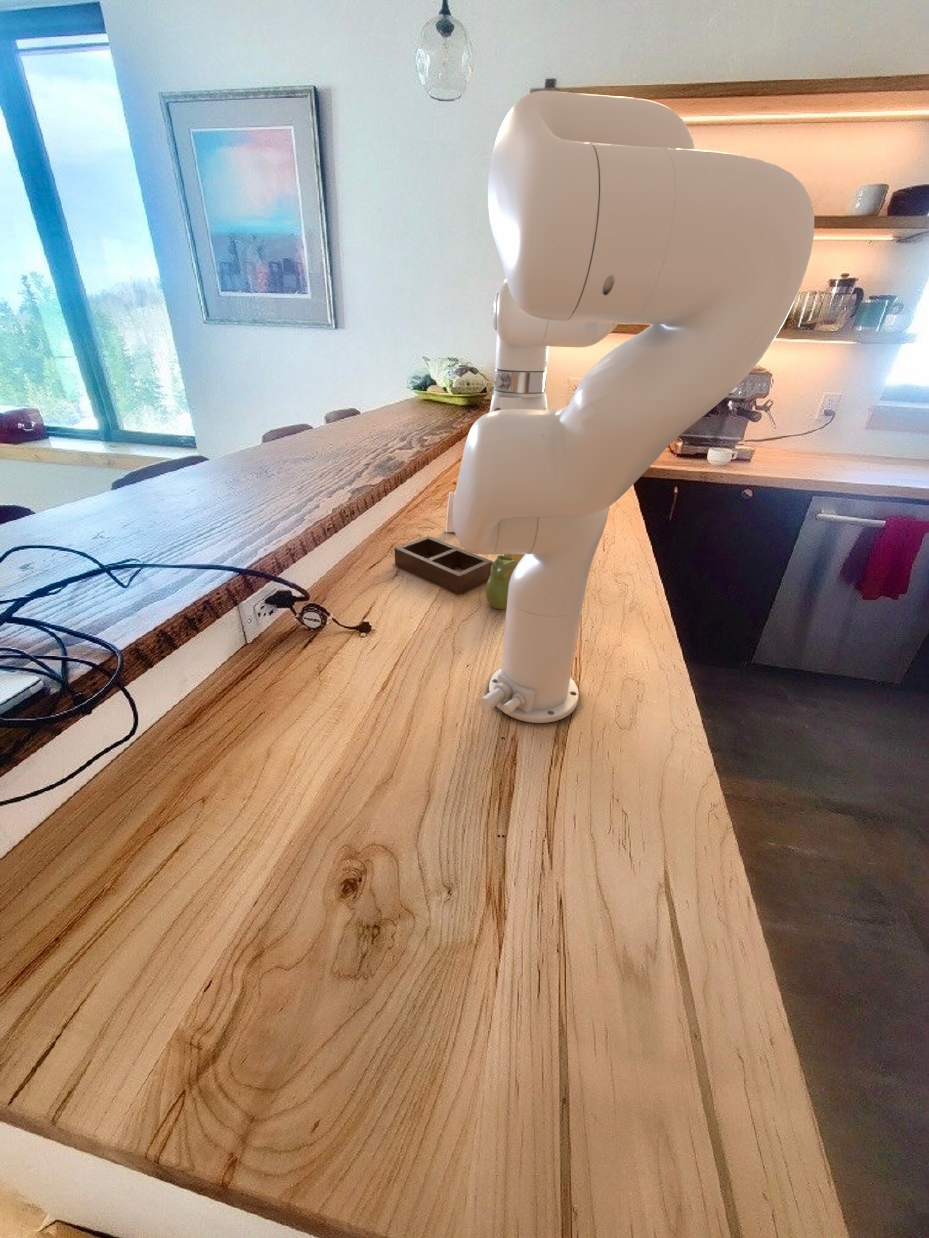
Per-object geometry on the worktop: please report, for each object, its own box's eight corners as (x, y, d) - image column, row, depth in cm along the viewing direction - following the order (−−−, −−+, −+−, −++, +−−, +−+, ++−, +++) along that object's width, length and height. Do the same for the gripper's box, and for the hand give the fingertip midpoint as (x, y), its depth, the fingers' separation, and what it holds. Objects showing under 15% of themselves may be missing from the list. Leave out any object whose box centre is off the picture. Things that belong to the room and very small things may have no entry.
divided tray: (458, 595, 96) (459, 576, 94) (395, 565, 107) (394, 547, 105) (491, 579, 103) (492, 561, 101) (428, 552, 113) (428, 535, 111)
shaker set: (495, 532, 125) (498, 488, 119) (492, 538, 122) (495, 493, 116) (449, 526, 127) (450, 483, 122) (444, 532, 124) (445, 488, 118)
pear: (497, 597, 96) (500, 548, 91) (520, 606, 93) (525, 556, 88) (479, 607, 92) (482, 557, 87) (503, 617, 89) (507, 566, 84)
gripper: (503, 389, 65) (495, 516, 74) (573, 383, 77) (559, 494, 85) (460, 385, 70) (458, 505, 78) (533, 379, 81) (524, 485, 90)
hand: (511, 499), depth 82 cm, fingers open, 9 cm apart
